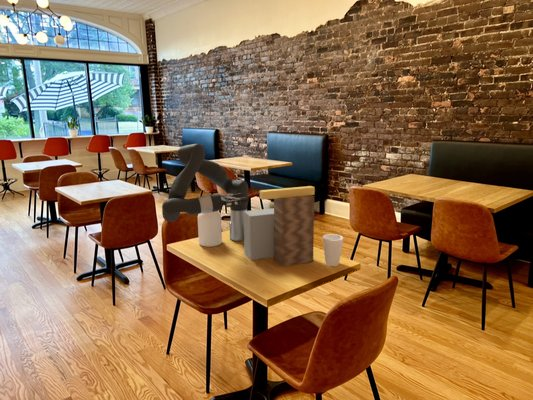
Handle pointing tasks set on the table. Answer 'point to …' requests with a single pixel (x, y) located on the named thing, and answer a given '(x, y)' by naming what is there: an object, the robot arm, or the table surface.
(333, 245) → the foam cup
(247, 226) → the block
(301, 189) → the rail
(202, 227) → the white jar
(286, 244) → the stand
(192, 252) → the table surface
